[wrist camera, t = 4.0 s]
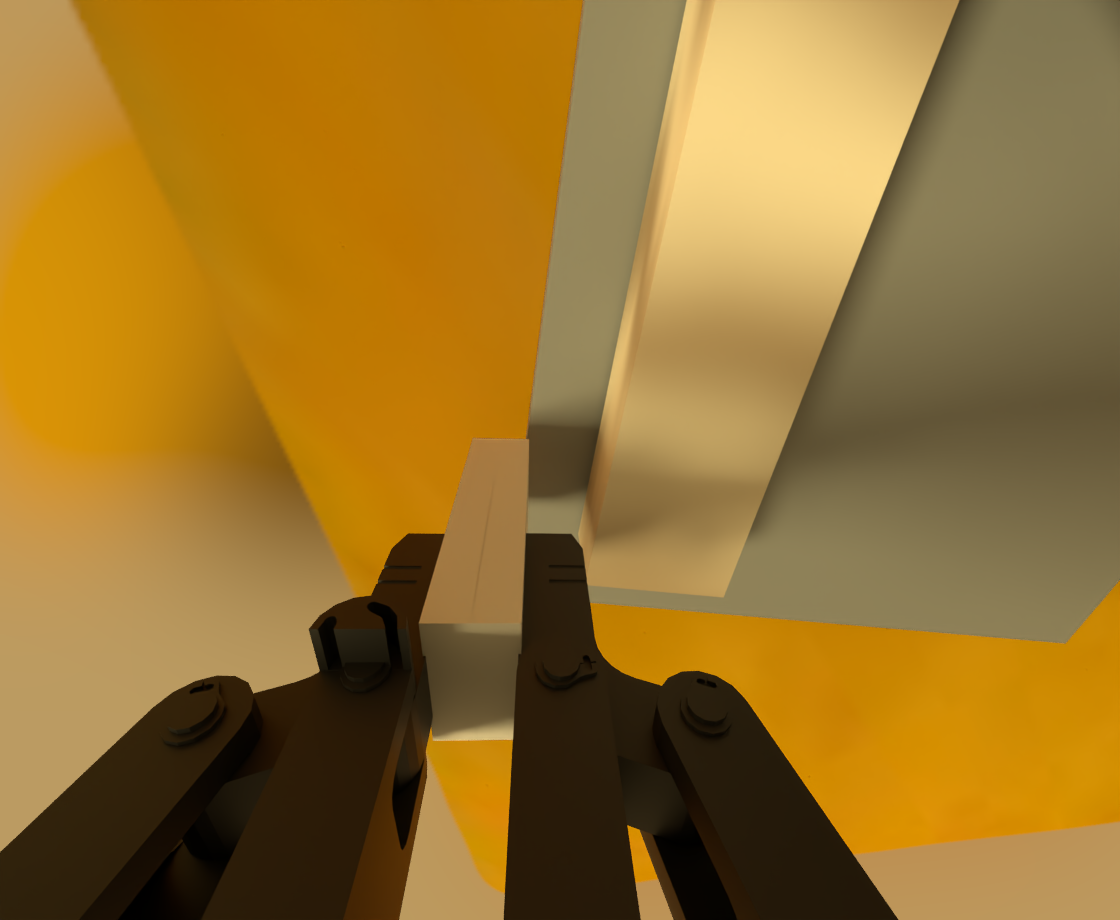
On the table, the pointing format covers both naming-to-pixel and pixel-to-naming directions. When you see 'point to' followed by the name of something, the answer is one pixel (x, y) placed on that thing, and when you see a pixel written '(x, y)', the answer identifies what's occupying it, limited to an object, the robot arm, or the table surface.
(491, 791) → the table surface
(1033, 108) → the base plate
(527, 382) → the table surface
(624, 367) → the link
